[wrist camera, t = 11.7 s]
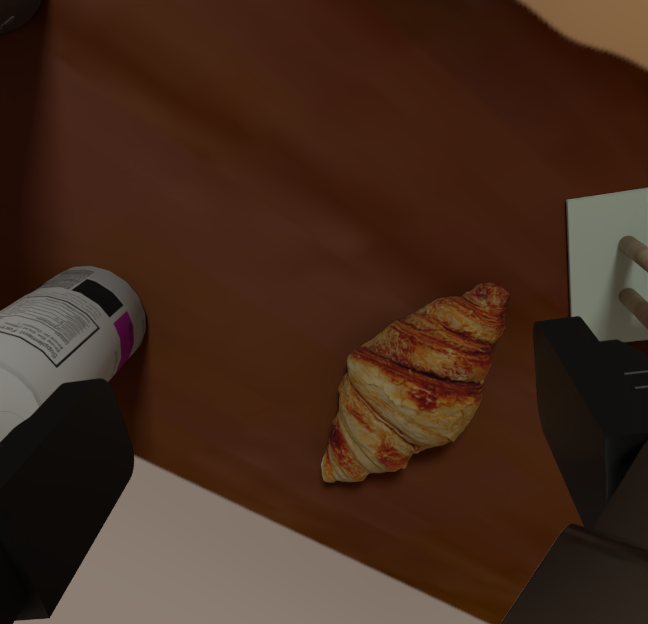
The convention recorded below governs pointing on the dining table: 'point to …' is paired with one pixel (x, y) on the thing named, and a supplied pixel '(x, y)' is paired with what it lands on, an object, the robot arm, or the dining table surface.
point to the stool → (628, 296)
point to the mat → (606, 261)
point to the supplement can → (65, 338)
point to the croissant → (414, 384)
